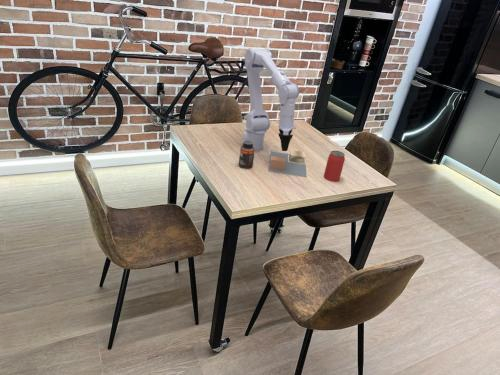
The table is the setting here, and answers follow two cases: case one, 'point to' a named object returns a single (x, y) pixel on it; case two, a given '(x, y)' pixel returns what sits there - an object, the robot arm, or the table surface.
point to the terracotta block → (277, 163)
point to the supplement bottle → (246, 155)
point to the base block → (297, 156)
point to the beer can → (334, 166)
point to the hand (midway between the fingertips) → (284, 148)
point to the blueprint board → (289, 166)
